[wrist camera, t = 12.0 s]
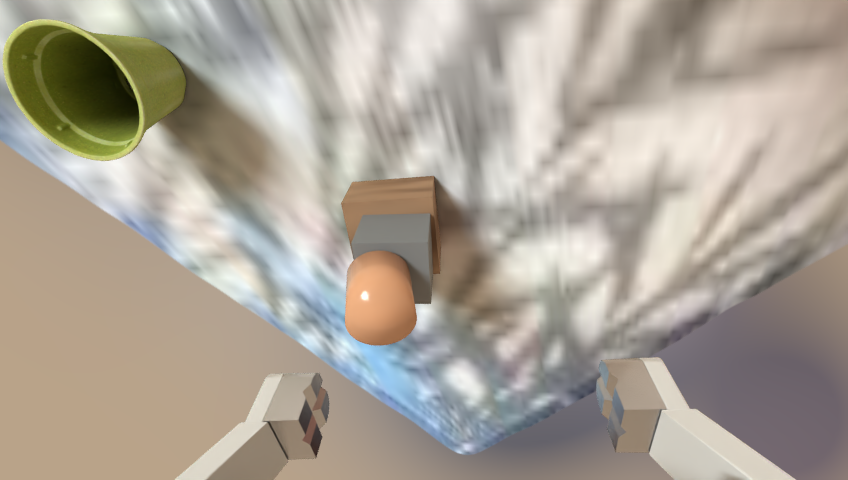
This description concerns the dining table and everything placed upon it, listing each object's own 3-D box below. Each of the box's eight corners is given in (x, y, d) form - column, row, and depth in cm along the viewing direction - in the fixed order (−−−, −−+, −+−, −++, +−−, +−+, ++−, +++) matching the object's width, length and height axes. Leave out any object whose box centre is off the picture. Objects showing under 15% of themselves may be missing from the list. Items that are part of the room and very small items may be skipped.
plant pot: (146, 144, 39) (75, 177, 32) (72, 42, 35) (-30, 53, 28) (227, 108, 37) (171, 135, 30) (158, -5, 33) (73, -6, 25)
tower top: (362, 214, 36) (351, 243, 32) (430, 213, 36) (427, 242, 32) (370, 270, 39) (361, 304, 35) (433, 270, 39) (430, 303, 35)
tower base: (352, 181, 40) (341, 203, 36) (433, 175, 40) (432, 196, 35) (366, 250, 44) (357, 277, 40) (440, 246, 44) (439, 273, 39)
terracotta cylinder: (386, 239, 31) (390, 282, 27) (421, 279, 34) (429, 324, 30) (333, 271, 32) (329, 317, 28) (371, 308, 35) (373, 354, 31)
